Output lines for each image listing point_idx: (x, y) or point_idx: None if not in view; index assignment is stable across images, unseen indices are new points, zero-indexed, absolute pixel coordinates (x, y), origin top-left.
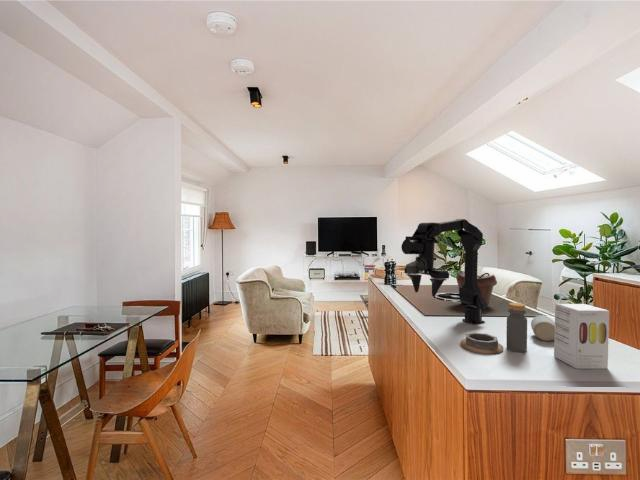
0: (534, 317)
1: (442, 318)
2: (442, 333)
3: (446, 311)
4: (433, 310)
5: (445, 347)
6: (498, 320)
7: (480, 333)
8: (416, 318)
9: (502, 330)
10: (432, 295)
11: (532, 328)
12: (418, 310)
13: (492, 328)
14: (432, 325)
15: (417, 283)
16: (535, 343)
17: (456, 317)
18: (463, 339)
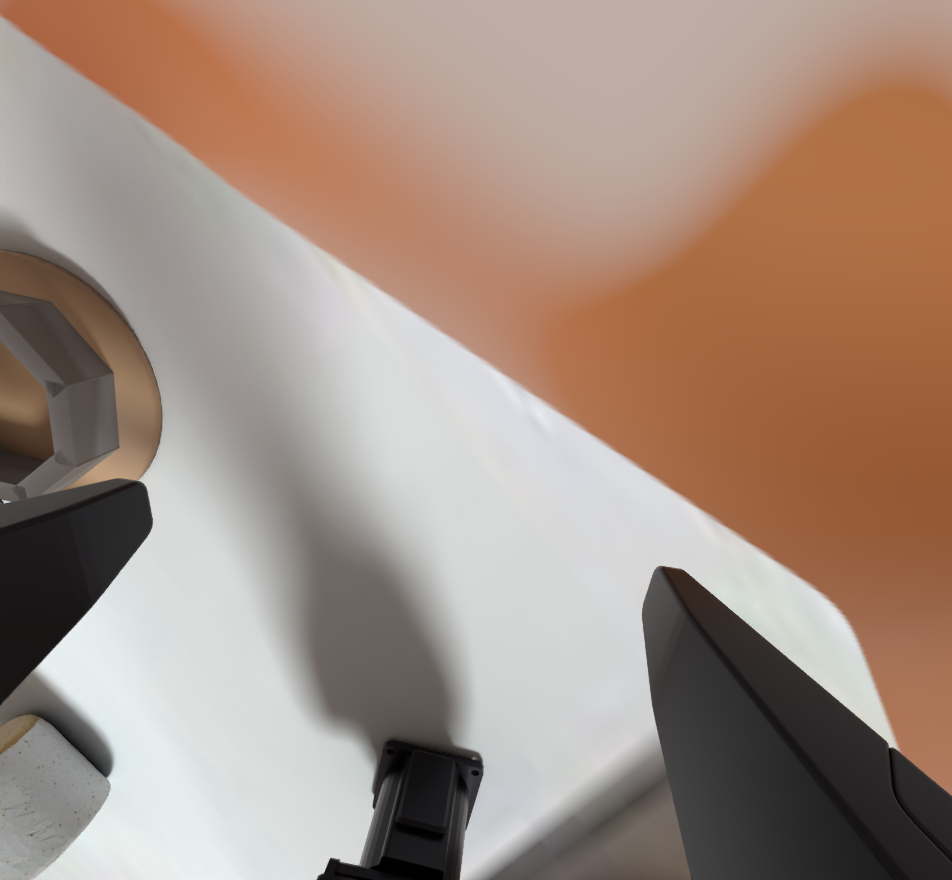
0: (31, 876)
1: (604, 726)
2: (358, 428)
3: None
4: None
5: (104, 152)
6: None
7: (45, 478)
8: (752, 603)
9: (231, 738)
10: (115, 480)
11: (43, 774)
12: None
13: (280, 736)
14: (537, 538)
15: (736, 850)
16: None
17: (555, 797)
18: (144, 387)
